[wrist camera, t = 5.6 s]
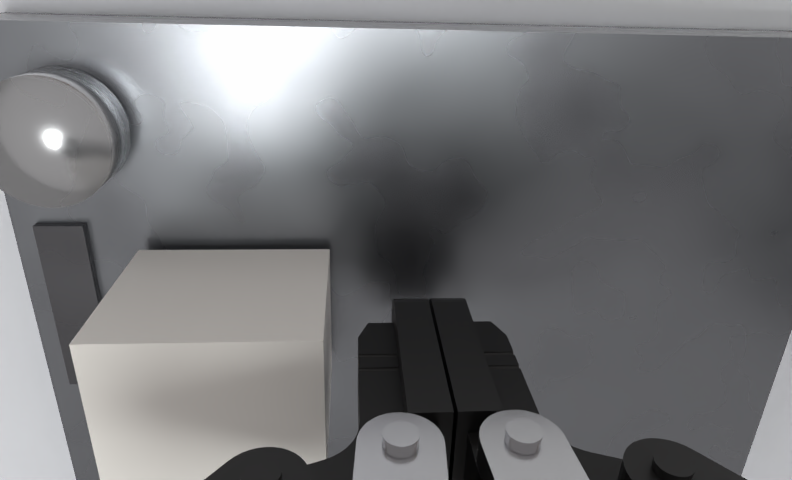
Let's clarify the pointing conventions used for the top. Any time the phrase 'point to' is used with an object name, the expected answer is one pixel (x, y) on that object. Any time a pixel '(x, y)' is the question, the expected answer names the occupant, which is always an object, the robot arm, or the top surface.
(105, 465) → the block
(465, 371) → the robot arm
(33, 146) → the panel
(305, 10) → the top surface
